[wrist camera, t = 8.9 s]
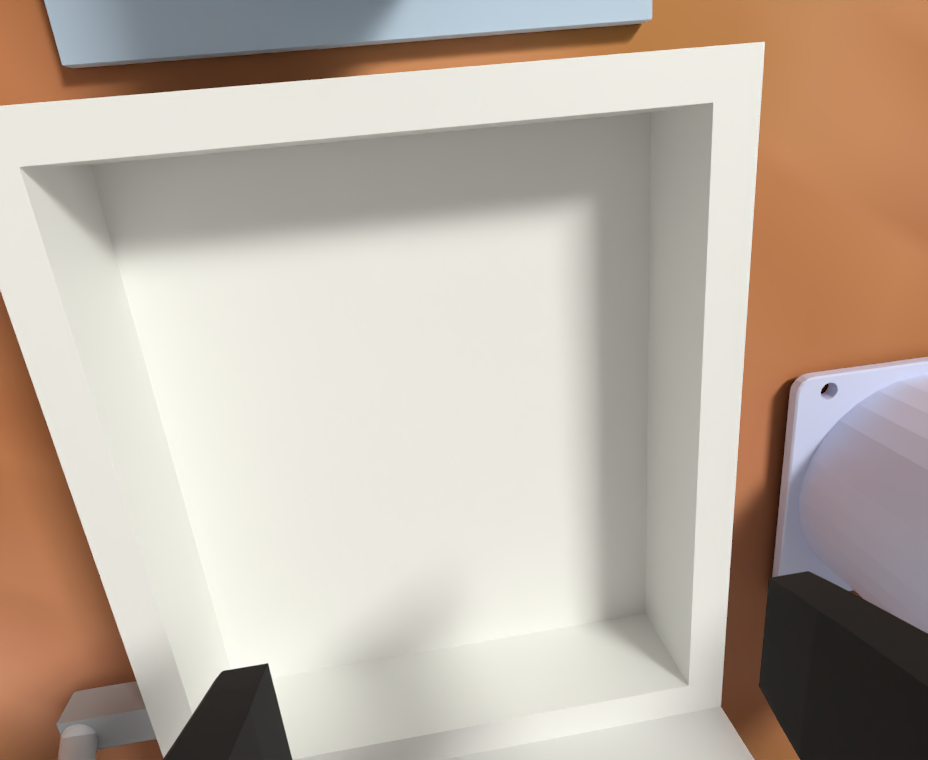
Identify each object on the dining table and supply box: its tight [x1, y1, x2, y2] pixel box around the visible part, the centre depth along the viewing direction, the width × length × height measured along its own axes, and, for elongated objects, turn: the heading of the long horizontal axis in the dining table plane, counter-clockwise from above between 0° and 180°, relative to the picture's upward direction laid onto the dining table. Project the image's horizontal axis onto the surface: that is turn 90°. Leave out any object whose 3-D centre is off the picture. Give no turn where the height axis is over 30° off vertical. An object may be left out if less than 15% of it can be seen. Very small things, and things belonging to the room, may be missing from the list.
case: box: [0, 42, 765, 760], centre depth 14 cm, size 17×18×8 cm
